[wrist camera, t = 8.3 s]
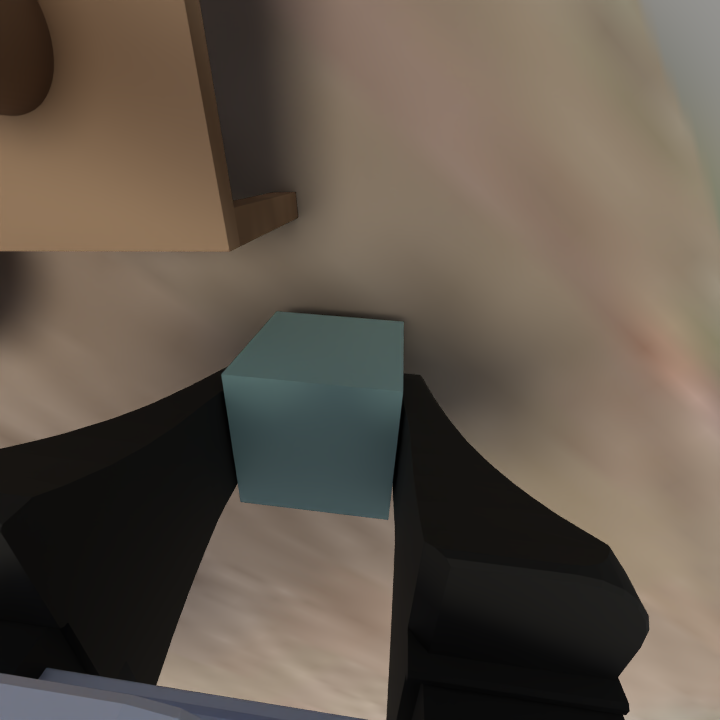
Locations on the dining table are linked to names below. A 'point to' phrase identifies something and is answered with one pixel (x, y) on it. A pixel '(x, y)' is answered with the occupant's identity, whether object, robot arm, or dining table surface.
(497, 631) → the robot arm
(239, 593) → the dining table surface
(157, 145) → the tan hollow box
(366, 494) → the block
